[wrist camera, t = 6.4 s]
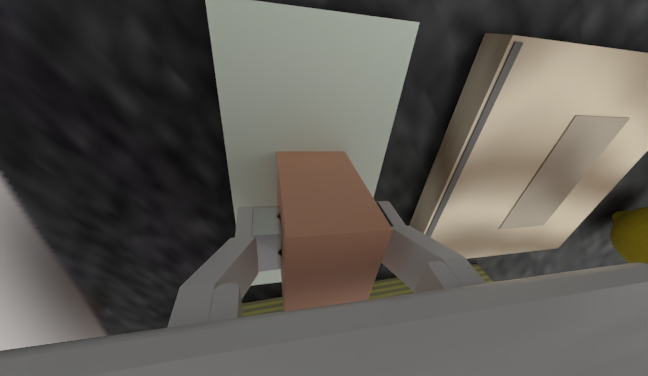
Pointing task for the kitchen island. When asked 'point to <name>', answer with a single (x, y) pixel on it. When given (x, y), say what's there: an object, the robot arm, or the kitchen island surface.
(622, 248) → the lemon
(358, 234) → the stub
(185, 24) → the kitchen island surface
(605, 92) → the block
